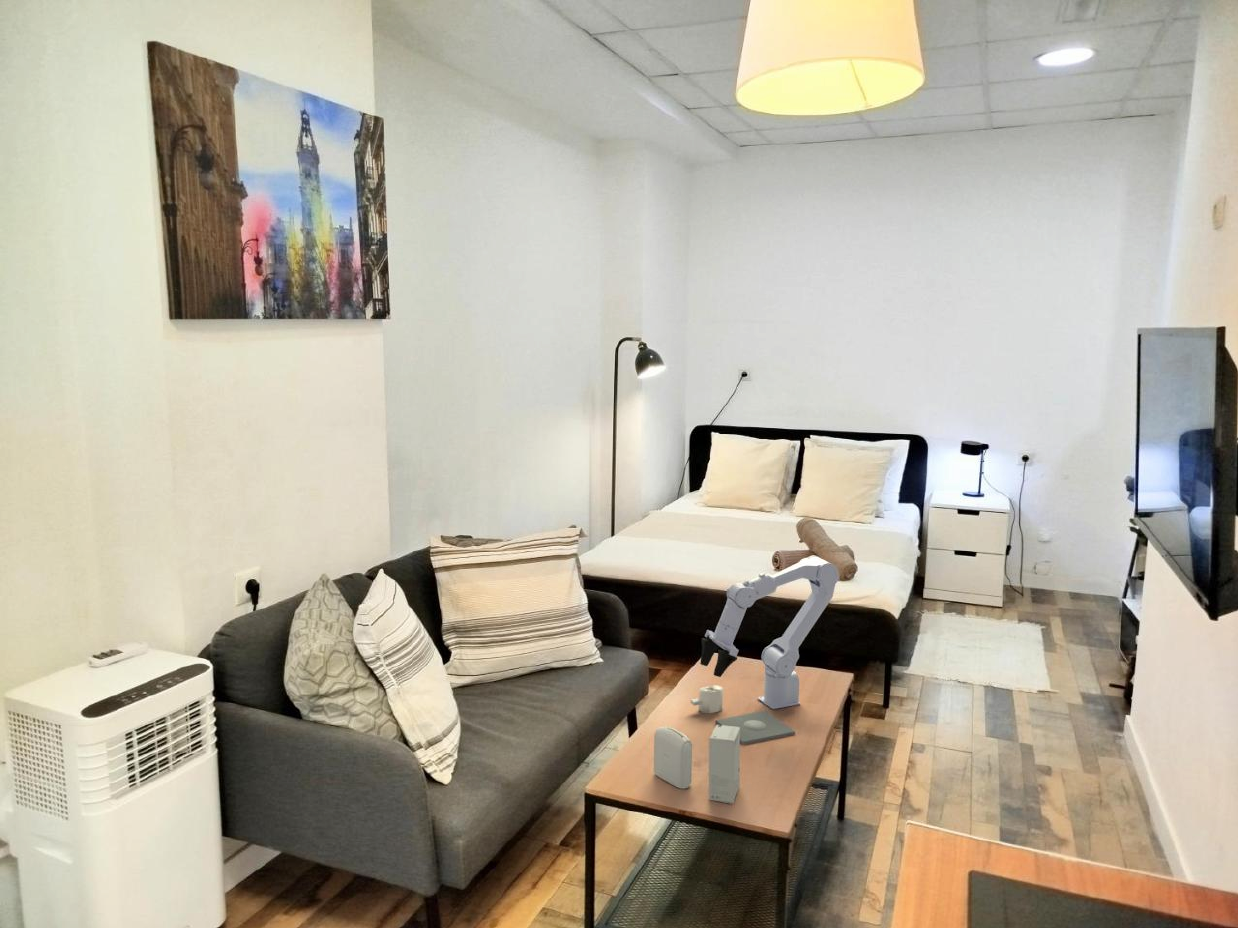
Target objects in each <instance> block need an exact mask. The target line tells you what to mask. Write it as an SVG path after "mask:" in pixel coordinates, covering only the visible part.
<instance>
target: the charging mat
mask: <svg viewBox="0 0 1238 928" xmlns="http://www.w3.org/2000/svg"><path fill="white" fill-rule="evenodd" d="M715 724H716V725H725V726H734V727H740V743H741V744H742V745H748V744H752V743H753V744H754V743H758V742H764V741H768V740H773V739H778V738H783V737H788V736H791V735H796V731H795V730H794V729H792V728H791V727H790V726H789V725H788V724H785V723H784V722H783V721H781V720H780V719H778V718H777V717H775V715H772V713H770V712H769V711H768V710H766V709H765V710H760V711H755V712H751V713H745V714H740V715H734V716H730V717H729V716H728V717H724V718H718V719H715Z"/></svg>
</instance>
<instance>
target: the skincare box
mask: <svg viewBox="0 0 1238 928" xmlns="http://www.w3.org/2000/svg"><path fill="white" fill-rule="evenodd" d="M740 747H741V746H740V727H734V726H725V725H718V724H716V725H715V727H714V729H712V733H711V735H710V736H709V739H708V800H709V801H716V802H721V803H725V804H730V805H733V804H734V803H735V797H736V796H737V793H738V791H739V789H740V762H741V761H740V758H741V757H740V754H741V753H740V752H741V748H740Z"/></svg>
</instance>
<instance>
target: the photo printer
mask: <svg viewBox="0 0 1238 928" xmlns="http://www.w3.org/2000/svg"><path fill="white" fill-rule="evenodd" d="M653 737H654V738H653V739H654V741H653V750H654V752H653V755H654V756H653V760H654V761H653V766H654V767H653V772H654V775H656V776H657V777H658V778H660V779H662V780H663V781H665V782H667V783H668V784H671V785H672V786H673V787H676V788H678V789H683V790H684V789H687V788H689V787H690V786H691V784H692V779H693V778H692V777H693V776H692V774H693V773H692V769H693V766H692V765H693V763H692V762H693V744H692V741H691V740H690V739H689V737H688V736H686V735H685V734H684V733H682V732H681V731H680V730H678V729H676V728H673V727H670V726H664V725H663V726H660V727H657V729H656V730H655V732H654V736H653Z"/></svg>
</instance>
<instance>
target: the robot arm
mask: <svg viewBox="0 0 1238 928" xmlns="http://www.w3.org/2000/svg"><path fill="white" fill-rule="evenodd" d="M801 579H804V580H808V582H809V584H810V588H811V593H810V594H809V596H808V598H807V599H806V601H804V604H802V606H801V608H800V609H799V611H798V612H797V613H796V615H795V617H794V618H793V619H792V621H791V622H790V624H789V625H788V627H787V628H786V630H785V631H784V633H783V634H782V636H781V637H778V638H776V639H773V640H772V642H771V643H770V644H769V645H768V646H766V647H764V649H763V651H762V653H761V658H760V659H761V662H762V663H763V664H764V666H765V667H764V685H763V686H764V689H763V693H764V694H763V696H758V697H757V700H758V701H761V703H763V704H765V706H767V707H769V708H770V709H772V710H776V709H782V708H788V707H790V706H791V707H792V706H797V705H801V702H800V700H799V699H800V698H799V697H800V678H799V675H798V673H797V672H796V671H795V669H796V665H797V662H798V660H799V659H800V654H799V652H800V651H799V647H800V646H801V645H802V643H803V641H805V638H806V637H807V636H808V634H809V633H810V631H811V630H812V628H813V627H814V626H815V624H816V623H817V621H818V619H819V618H820V617H821V615H822V613H823V612H824V610H825V609H826V608H827V606H828V604H829V603H830V601H831V600H832V599H833V597H834V592H835V587H836V584H837V583H838V581H839V579H840V574H839V569H838V567H837V566H836V565H835V564H834V563H832V562H829V561H827V560H825V559H822V558H820V557H819V556H817V555H810V556H808V557H804V558H802V559H800V560H799V561H798V562H797V563H794V564H793V565H791V566H788V567H786V568H784V569H783V570H780V571H778V572H777V573H774V574H772V575H771V574H770V573H764V572H761V573H759V574H758V576H757V577H754V578H751V579H749V580H747V579H746V580H744V581H743V583H741V582H736V583H733V584H732V585H731V586H729V588H727V590H726V597H727V599H726V602H725V603H726V604H725V605H724V608H723V611H722V613H721V616H720V618H719V621H718V623H717V625H716V627H715V631H714V632H713V631H712V630H709V629H707V630H706V632H705V634H704V637H705V638H704V637H702V638H701V641H700V642H701V656H700V662H699V665H701V666H703V667H704V666H705V667H708V666H709V664H710V662H711V660H712V658H713V656H714V655H715V653H716V651H717V660H716V664H715V667H714V671H713V675H714V676H715V677H718V678H721V677H722V676H723V674H724V673H725V672H726V670H727V669H728V668H729V667H730V666H731V664H733V663H734V662H735V661H737V660H738V657H737V656H738V653H739V651H740V650H739V649H738V648H736V645H734V644H733V643H734V640H735V639H736V635H737V634H738V631H739V629H740V626H741V623H742V621H743V619H744V616H745V614H746V612H747V611H746V610H748V609H747V608H751V607H752V606H753V605H754V603H755V602H756V601H757V600H759V599H763V598H764V597H767V596H769V595H771V594H774V593H776V590H777V588H778V587H781V586H784V585H786V584H789V583H791V582H795V581H797V580H801ZM719 648H721V649H719ZM722 649H723V650H722Z"/></svg>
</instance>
